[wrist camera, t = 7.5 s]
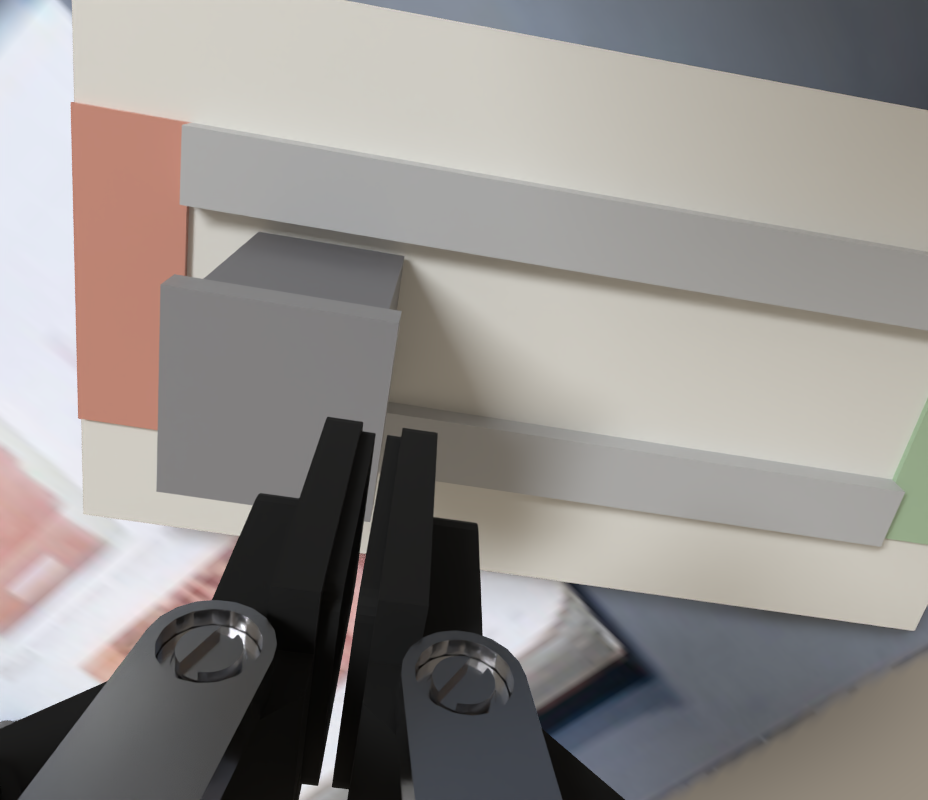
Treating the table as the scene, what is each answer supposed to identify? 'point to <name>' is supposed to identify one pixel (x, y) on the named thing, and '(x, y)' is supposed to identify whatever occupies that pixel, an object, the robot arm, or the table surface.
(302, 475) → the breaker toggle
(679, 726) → the table surface
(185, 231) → the slider rail board
